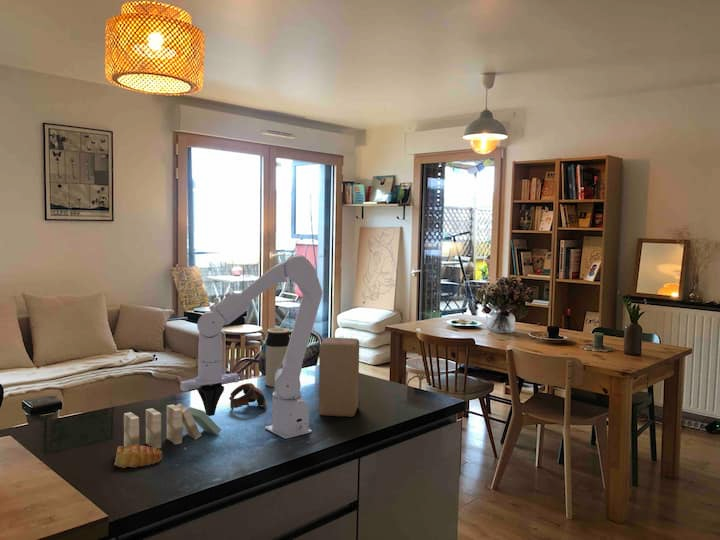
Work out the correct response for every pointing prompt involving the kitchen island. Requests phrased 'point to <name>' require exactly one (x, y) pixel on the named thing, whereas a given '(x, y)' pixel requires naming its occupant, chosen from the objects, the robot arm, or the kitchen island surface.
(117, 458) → the pastry
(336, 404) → the wooden block
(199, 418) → the domino
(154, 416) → the domino
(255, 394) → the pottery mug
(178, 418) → the domino
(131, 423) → the domino
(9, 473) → the kitchen island surface
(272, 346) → the travel mug
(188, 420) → the domino
